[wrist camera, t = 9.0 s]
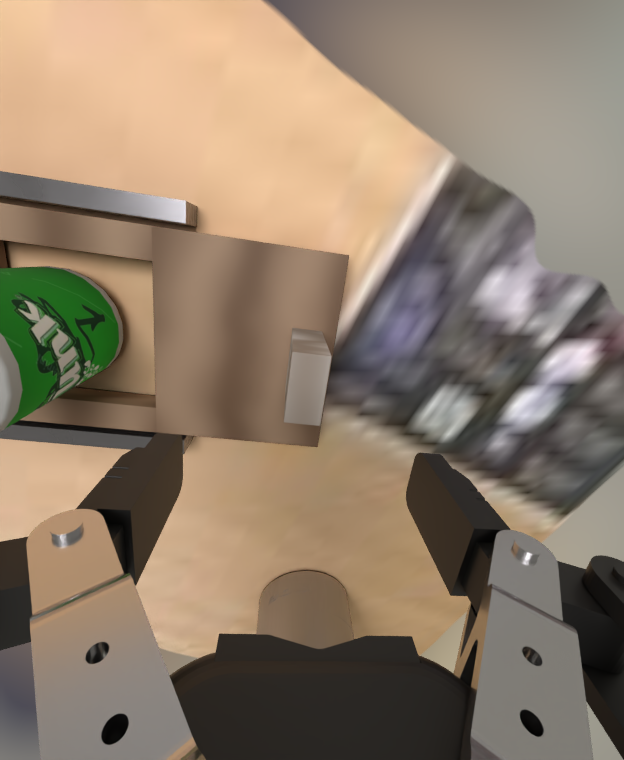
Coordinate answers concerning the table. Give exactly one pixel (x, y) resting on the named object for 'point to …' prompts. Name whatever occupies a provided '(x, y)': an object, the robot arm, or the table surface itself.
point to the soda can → (51, 336)
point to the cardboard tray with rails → (209, 330)
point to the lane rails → (106, 203)
